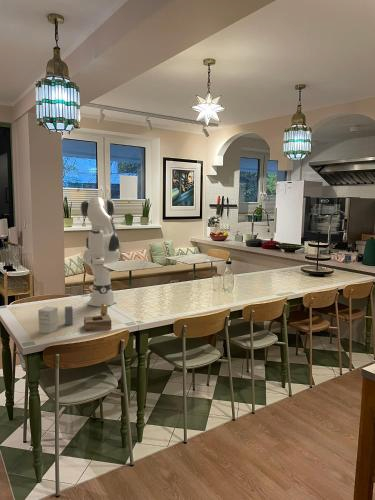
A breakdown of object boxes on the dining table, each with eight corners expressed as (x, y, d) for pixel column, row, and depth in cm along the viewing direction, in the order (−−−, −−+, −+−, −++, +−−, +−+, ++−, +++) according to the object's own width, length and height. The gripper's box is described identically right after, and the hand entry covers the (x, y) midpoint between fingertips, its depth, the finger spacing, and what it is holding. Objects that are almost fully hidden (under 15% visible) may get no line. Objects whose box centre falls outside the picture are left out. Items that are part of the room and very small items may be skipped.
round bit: (100, 320, 227) (100, 304, 226) (107, 319, 228) (106, 303, 227) (101, 322, 223) (100, 305, 222) (108, 321, 225) (107, 305, 223)
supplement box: (47, 327, 212) (46, 306, 211) (58, 329, 210) (58, 307, 208) (38, 332, 205) (37, 309, 204) (50, 333, 203) (49, 311, 201)
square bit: (65, 323, 220) (64, 306, 219) (72, 322, 221) (72, 306, 220) (65, 325, 216) (65, 308, 215) (72, 325, 218) (72, 308, 216)
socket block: (84, 325, 217) (83, 317, 216) (108, 323, 222) (108, 315, 221) (85, 331, 208) (85, 322, 207) (111, 328, 213) (111, 320, 212)
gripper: (88, 256, 218) (89, 279, 220) (92, 262, 199) (93, 287, 201) (100, 256, 220) (100, 279, 222) (105, 261, 201) (105, 287, 203)
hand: (97, 283), depth 211 cm, fingers open, 8 cm apart
